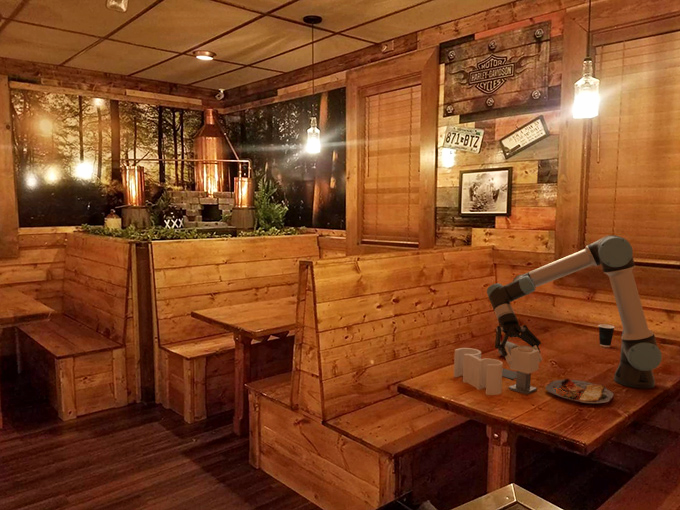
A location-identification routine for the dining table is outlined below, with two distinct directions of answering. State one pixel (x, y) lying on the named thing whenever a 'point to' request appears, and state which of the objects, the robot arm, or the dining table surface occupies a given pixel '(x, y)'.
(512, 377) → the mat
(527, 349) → the beige block piece
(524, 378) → the post
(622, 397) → the dining table surface
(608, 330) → the dixie cup
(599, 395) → the food plate
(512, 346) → the ceramic mug
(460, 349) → the bracket
